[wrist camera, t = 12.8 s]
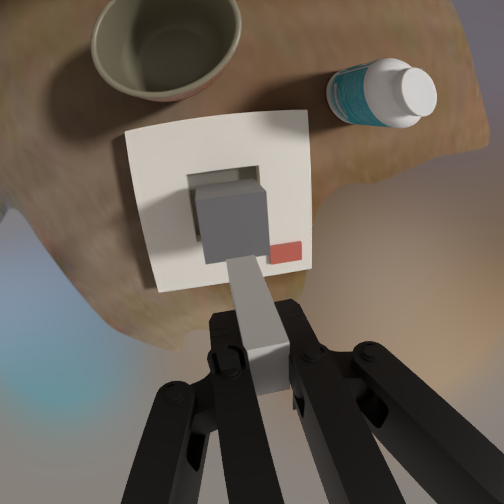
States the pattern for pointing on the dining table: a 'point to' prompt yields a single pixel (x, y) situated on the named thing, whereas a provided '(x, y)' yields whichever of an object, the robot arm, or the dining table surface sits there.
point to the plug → (233, 220)
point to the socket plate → (215, 171)
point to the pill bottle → (381, 94)
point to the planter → (164, 45)
